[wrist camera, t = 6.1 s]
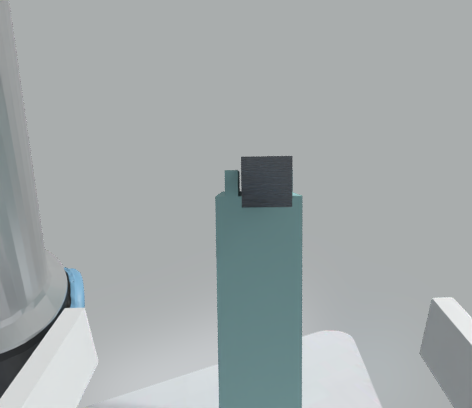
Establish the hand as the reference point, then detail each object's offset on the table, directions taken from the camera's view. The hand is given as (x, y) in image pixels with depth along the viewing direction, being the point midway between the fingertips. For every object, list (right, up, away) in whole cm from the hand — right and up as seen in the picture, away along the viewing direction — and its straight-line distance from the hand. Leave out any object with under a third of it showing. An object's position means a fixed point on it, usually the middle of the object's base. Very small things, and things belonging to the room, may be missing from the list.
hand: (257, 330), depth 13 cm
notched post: (+2, -24, +25) cm, 35 cm away
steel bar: (+1, +6, +20) cm, 21 cm away
